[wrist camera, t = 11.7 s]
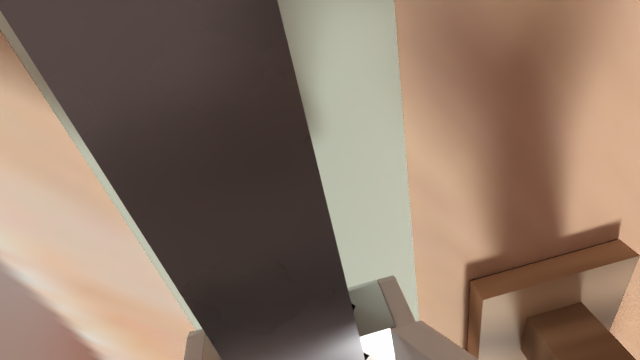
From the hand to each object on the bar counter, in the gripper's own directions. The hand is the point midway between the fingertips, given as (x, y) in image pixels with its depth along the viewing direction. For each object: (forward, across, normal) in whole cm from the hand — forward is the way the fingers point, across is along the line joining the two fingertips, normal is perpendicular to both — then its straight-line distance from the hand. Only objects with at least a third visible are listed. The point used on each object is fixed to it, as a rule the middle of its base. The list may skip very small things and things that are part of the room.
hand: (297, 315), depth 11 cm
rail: (+1, 0, 0) cm, 1 cm away
